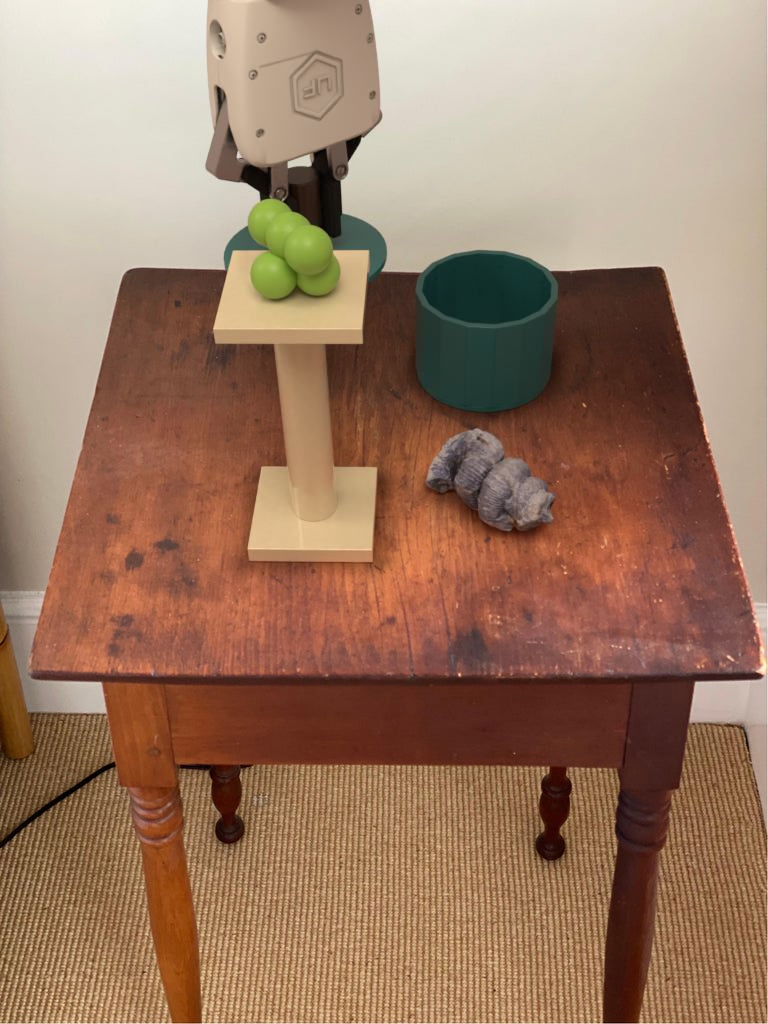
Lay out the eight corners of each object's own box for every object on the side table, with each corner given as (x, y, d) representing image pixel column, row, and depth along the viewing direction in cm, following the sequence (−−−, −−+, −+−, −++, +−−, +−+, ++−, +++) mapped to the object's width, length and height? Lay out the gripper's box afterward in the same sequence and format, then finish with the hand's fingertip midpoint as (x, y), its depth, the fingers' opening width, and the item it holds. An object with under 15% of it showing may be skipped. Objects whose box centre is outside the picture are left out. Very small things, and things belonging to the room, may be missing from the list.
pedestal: (378, 479, 78) (369, 249, 66) (372, 563, 73) (362, 328, 60) (262, 478, 79) (232, 250, 66) (248, 561, 73) (212, 328, 60)
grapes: (357, 298, 62) (353, 224, 59) (287, 328, 60) (280, 254, 57) (294, 252, 66) (288, 181, 63) (227, 279, 64) (217, 207, 61)
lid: (420, 271, 77) (420, 180, 73) (283, 330, 73) (273, 237, 68) (326, 207, 84) (320, 121, 79) (195, 258, 79) (181, 169, 75)
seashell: (432, 489, 79) (545, 562, 74) (400, 468, 75) (518, 544, 70) (474, 425, 79) (589, 494, 74) (444, 399, 74) (566, 471, 69)
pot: (577, 376, 86) (587, 292, 81) (475, 430, 82) (478, 345, 77) (489, 317, 92) (493, 235, 87) (390, 364, 88) (387, 281, 83)
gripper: (190, 2, 59) (231, 304, 71) (434, -66, 65) (432, 221, 78) (122, -36, 63) (172, 255, 76) (358, -96, 70) (367, 180, 83)
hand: (304, 235), depth 77 cm, fingers closed on lid, 2 cm apart
